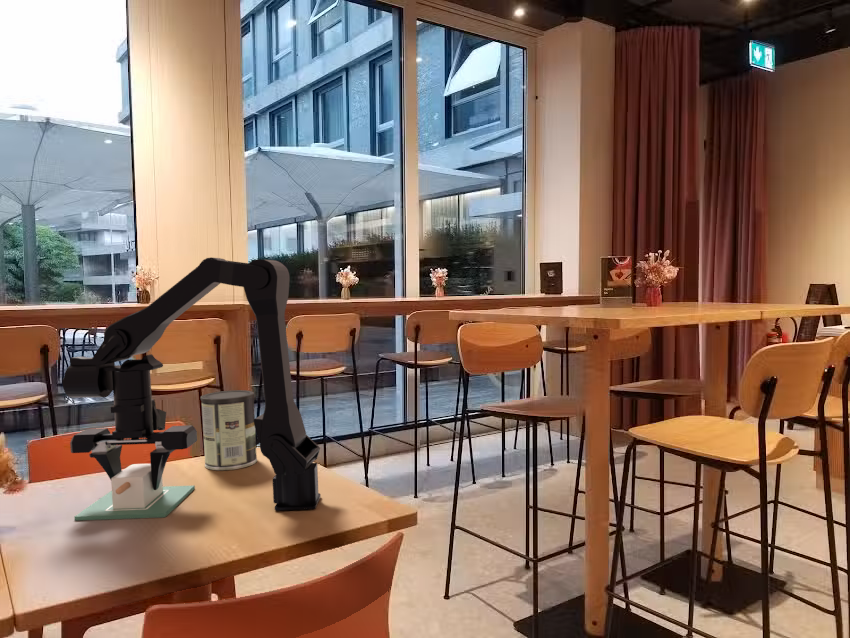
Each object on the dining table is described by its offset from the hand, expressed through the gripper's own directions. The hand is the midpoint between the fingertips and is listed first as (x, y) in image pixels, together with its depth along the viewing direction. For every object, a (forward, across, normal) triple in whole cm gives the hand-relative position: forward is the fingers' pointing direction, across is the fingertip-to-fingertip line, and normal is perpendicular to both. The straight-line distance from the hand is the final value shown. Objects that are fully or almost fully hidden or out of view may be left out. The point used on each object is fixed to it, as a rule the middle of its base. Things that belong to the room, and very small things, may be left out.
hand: (138, 490), depth 109 cm
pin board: (+2, 0, 0) cm, 2 cm away
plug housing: (+2, 0, +2) cm, 2 cm away
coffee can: (+2, -9, -23) cm, 25 cm away
